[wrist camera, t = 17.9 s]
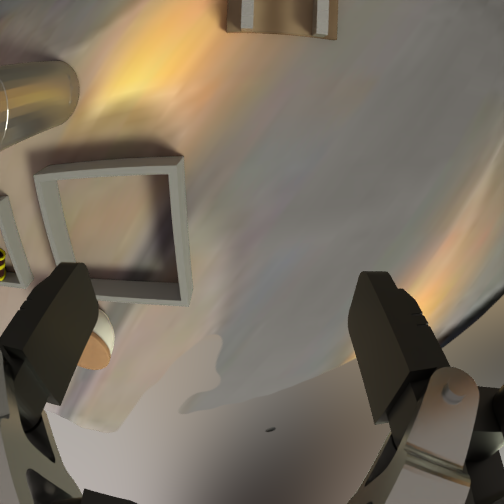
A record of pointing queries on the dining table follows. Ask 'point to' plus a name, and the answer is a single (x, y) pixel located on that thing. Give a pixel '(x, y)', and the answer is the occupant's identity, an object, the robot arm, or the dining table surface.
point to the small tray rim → (13, 249)
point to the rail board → (284, 17)
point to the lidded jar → (98, 345)
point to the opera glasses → (2, 265)
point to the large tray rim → (122, 167)
